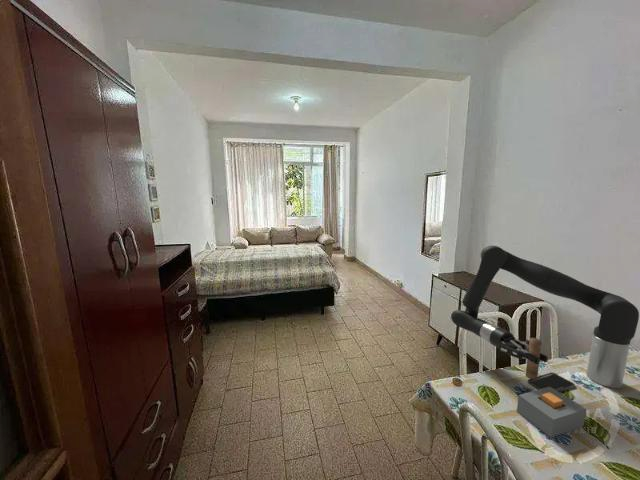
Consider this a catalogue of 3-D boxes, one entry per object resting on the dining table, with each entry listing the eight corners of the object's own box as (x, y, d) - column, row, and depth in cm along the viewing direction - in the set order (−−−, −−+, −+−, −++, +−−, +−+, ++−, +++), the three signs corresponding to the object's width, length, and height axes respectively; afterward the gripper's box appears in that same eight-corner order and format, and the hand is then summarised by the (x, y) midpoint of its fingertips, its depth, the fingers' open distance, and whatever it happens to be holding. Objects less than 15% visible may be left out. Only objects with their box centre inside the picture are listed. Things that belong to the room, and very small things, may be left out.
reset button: (548, 403, 84) (549, 392, 84) (561, 411, 81) (562, 400, 80) (540, 405, 83) (541, 394, 83) (552, 414, 80) (554, 402, 79)
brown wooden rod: (529, 373, 94) (534, 337, 92) (539, 378, 91) (544, 341, 89) (523, 374, 93) (527, 338, 91) (532, 380, 90) (537, 343, 88)
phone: (525, 380, 99) (552, 372, 104) (525, 382, 99) (552, 374, 104) (549, 394, 92) (576, 385, 96) (549, 397, 92) (576, 387, 97)
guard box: (547, 402, 89) (549, 386, 88) (583, 426, 80) (586, 408, 79) (516, 411, 85) (518, 395, 84) (550, 437, 76) (553, 419, 75)
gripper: (483, 329, 102) (528, 354, 86) (510, 324, 106) (559, 347, 90) (481, 347, 103) (526, 374, 87) (508, 341, 107) (556, 367, 91)
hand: (542, 360), depth 88 cm, fingers closed on brown wooden rod, 3 cm apart
